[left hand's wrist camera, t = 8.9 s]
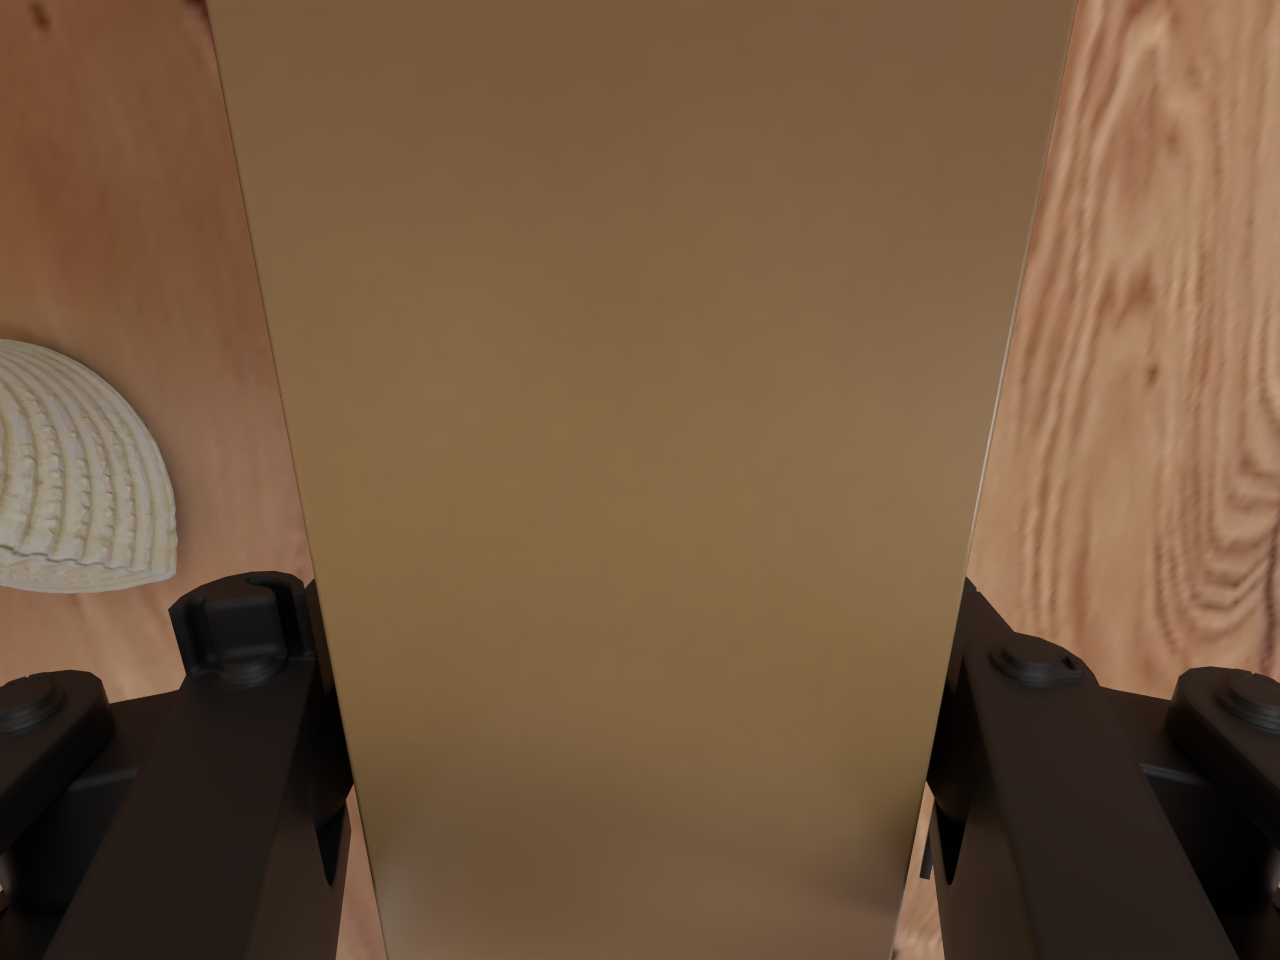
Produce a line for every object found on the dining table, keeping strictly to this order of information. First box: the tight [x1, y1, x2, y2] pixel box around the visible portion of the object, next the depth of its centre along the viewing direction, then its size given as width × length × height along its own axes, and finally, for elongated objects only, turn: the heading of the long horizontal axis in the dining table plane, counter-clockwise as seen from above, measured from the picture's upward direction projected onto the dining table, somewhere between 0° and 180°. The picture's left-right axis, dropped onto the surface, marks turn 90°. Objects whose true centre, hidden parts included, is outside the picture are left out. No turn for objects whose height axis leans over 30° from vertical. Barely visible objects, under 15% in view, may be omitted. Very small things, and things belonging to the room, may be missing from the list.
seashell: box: [0, 339, 178, 593], centre depth 24 cm, size 8×8×8 cm
